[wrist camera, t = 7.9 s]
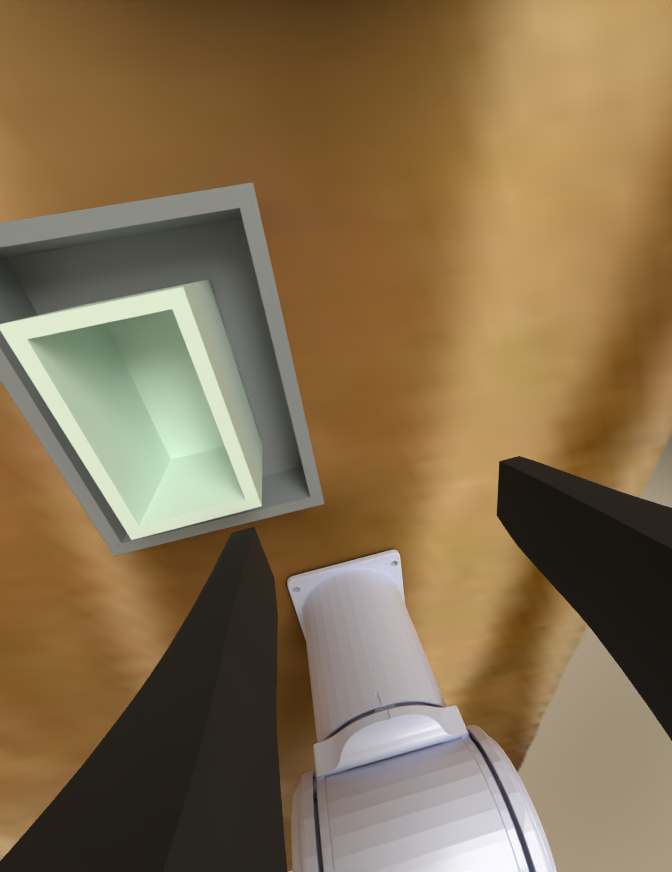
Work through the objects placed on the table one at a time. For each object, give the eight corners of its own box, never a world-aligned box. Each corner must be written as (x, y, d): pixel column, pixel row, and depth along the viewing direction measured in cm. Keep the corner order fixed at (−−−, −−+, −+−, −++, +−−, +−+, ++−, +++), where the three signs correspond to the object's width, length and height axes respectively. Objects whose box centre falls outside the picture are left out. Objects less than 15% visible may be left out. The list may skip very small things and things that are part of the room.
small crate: (262, 441, 18) (262, 506, 13) (167, 465, 18) (131, 539, 13) (210, 278, 15) (183, 286, 10) (88, 303, 14) (-4, 324, 9)
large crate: (315, 467, 20) (324, 503, 17) (137, 509, 19) (114, 555, 16) (255, 200, 14) (253, 182, 11) (-9, 243, 13) (-93, 237, 10)
